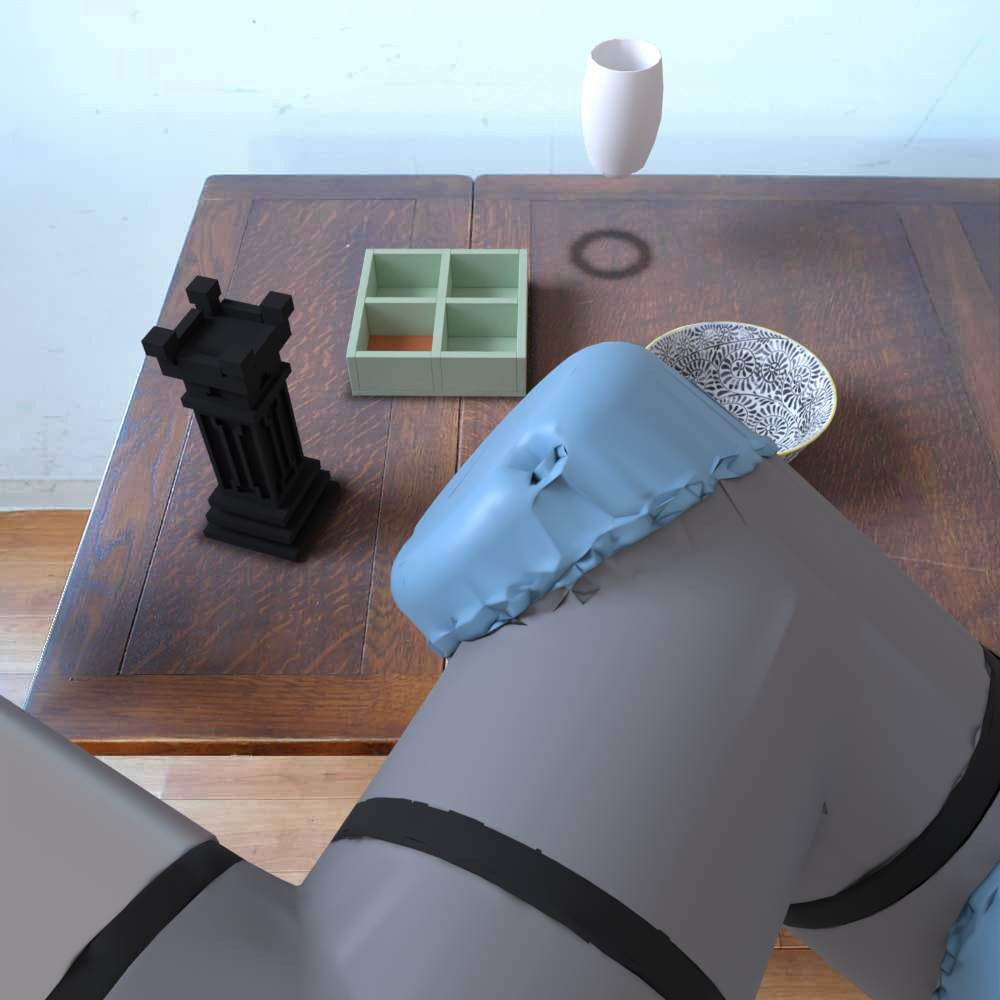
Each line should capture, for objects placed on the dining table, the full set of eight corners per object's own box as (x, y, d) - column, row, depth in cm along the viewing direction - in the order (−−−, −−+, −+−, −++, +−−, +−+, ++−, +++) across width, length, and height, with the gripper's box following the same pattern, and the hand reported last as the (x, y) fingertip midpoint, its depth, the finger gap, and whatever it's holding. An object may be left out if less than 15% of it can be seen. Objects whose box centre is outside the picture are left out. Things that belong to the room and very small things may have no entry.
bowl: (667, 364, 94) (677, 297, 88) (840, 421, 88) (862, 354, 83) (593, 480, 85) (597, 415, 79) (780, 551, 79) (800, 487, 74)
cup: (615, 225, 108) (630, 27, 92) (661, 259, 104) (685, 58, 88) (560, 250, 105) (566, 50, 89) (605, 286, 101) (620, 84, 85)
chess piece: (296, 562, 80) (242, 369, 64) (205, 537, 81) (132, 343, 66) (340, 488, 85) (299, 292, 69) (253, 466, 86) (194, 270, 71)
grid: (352, 395, 92) (345, 356, 88) (371, 287, 102) (365, 248, 98) (526, 396, 91) (526, 357, 88) (527, 287, 101) (527, 248, 98)
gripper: (458, 958, 32) (423, 749, 53) (1191, 798, 35) (881, 660, 56) (419, 722, 31) (399, 606, 52) (1168, 579, 34) (863, 523, 55)
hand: (647, 634), depth 54 cm, fingers open, 13 cm apart
